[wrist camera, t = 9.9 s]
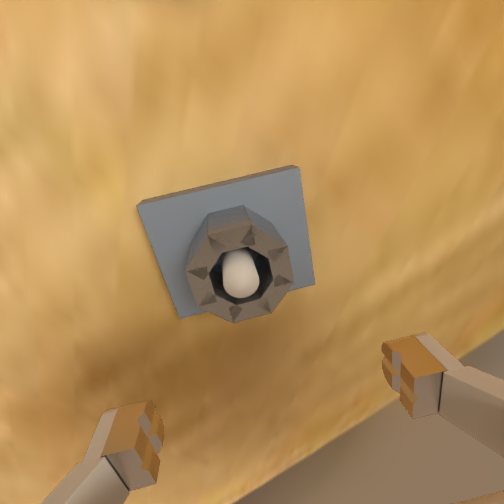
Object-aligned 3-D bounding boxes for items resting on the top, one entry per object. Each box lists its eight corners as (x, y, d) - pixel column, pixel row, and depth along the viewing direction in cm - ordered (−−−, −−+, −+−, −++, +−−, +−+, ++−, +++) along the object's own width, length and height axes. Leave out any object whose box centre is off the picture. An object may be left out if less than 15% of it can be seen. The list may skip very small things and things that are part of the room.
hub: (267, 198, 21) (282, 216, 16) (281, 273, 24) (298, 306, 19) (183, 219, 21) (175, 242, 16) (206, 291, 23) (205, 330, 19)
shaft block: (292, 164, 22) (327, 177, 15) (308, 274, 26) (342, 322, 19) (142, 200, 22) (110, 229, 15) (181, 305, 26) (170, 367, 19)
